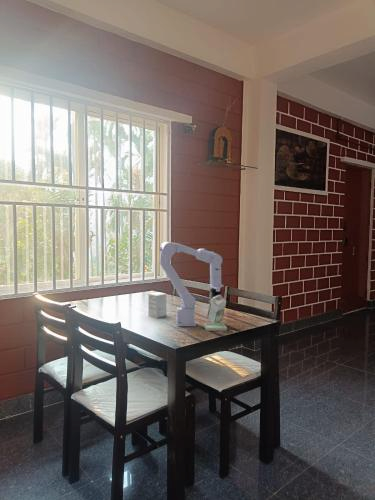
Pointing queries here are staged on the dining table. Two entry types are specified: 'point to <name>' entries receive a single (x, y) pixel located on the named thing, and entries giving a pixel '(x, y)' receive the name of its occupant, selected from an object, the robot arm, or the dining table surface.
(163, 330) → the dining table surface
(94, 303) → the dining table surface
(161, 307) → the supplement box
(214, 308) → the syrup box
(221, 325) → the tray
